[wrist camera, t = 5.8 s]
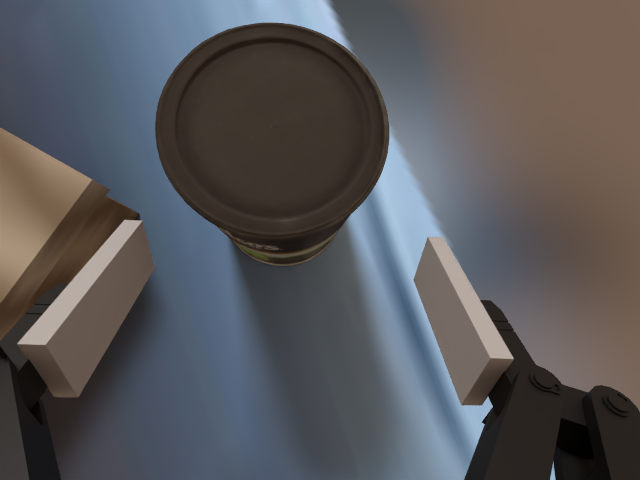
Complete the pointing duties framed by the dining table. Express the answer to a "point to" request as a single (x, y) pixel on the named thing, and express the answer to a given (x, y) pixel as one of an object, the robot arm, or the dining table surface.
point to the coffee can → (273, 137)
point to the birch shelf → (46, 225)
